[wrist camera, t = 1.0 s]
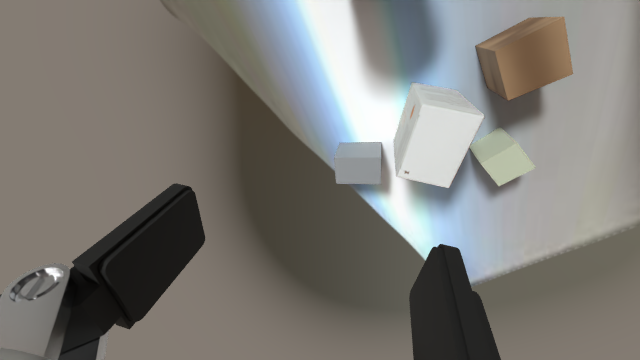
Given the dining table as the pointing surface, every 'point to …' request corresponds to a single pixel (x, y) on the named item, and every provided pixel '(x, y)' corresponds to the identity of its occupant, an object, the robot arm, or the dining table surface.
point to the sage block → (501, 156)
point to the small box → (434, 134)
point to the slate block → (358, 163)
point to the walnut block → (526, 56)
